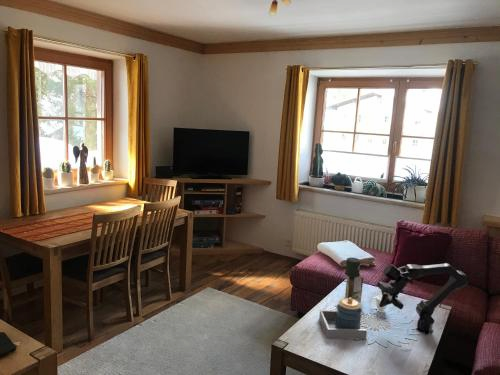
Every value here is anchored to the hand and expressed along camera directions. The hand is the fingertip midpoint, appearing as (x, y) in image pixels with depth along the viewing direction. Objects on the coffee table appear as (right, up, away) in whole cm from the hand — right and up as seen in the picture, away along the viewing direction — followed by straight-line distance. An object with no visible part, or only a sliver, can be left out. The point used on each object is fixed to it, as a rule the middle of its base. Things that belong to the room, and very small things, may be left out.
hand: (379, 306), depth 215 cm
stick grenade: (-11, -7, +22) cm, 26 cm away
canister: (-18, -11, -2) cm, 21 cm away
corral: (-21, -11, -2) cm, 24 cm away
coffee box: (-6, -6, +33) cm, 34 cm away
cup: (+6, -8, +21) cm, 23 cm away
